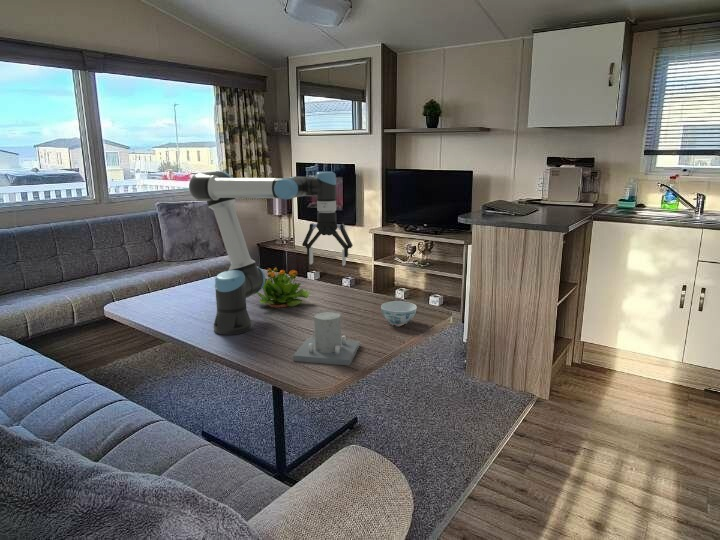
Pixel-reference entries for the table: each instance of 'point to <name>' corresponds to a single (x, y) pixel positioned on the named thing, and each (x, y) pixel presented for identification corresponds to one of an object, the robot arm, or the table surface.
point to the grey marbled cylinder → (327, 331)
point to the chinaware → (398, 311)
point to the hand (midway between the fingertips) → (327, 264)
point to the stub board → (338, 357)
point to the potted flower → (281, 290)
